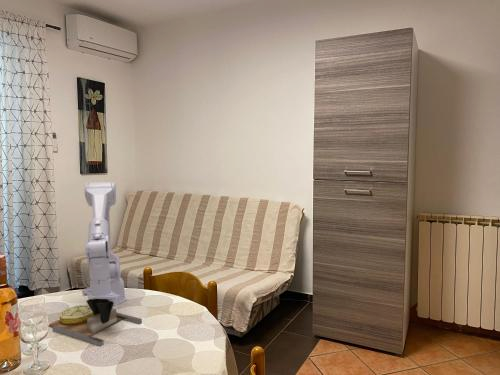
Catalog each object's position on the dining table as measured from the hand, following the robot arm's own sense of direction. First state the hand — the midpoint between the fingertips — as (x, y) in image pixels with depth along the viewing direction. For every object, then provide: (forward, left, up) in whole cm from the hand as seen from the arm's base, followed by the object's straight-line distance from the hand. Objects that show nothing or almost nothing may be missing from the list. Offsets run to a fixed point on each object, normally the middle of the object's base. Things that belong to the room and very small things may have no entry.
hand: (102, 321), depth 113 cm
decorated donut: (-1, -12, -3) cm, 12 cm away
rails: (0, -2, -2) cm, 3 cm away
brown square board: (0, -8, -2) cm, 8 cm away
